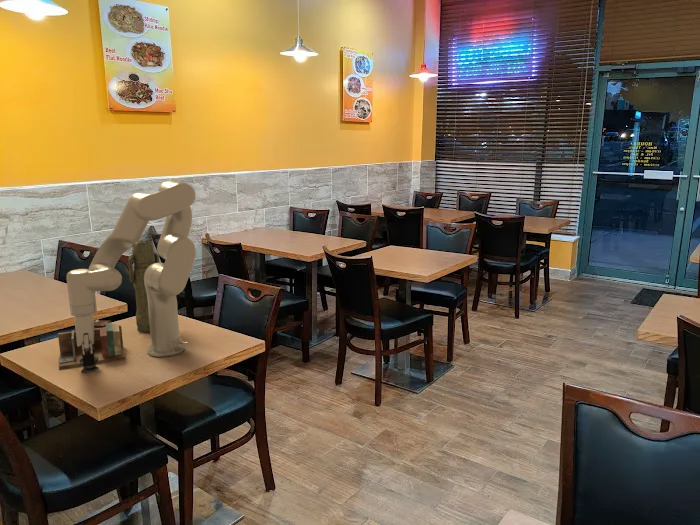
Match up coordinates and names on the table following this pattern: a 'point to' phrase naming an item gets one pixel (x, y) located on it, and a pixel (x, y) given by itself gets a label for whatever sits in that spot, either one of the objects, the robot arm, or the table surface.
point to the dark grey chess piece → (89, 368)
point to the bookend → (69, 353)
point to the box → (100, 324)
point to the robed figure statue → (141, 281)
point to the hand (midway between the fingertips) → (89, 361)
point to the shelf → (96, 345)
